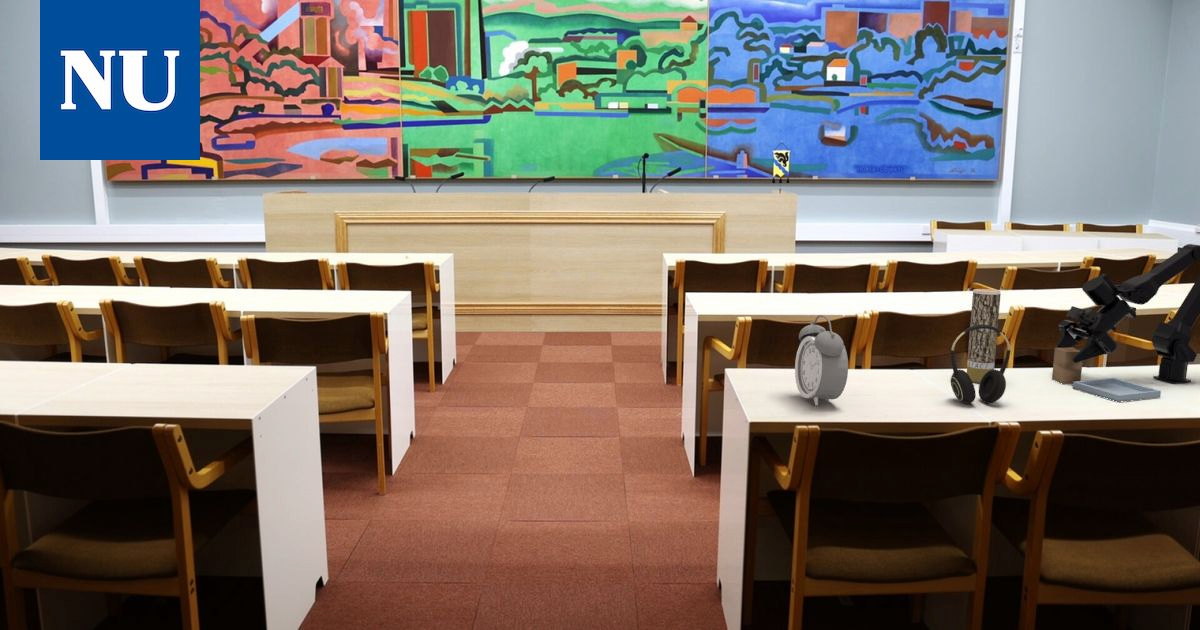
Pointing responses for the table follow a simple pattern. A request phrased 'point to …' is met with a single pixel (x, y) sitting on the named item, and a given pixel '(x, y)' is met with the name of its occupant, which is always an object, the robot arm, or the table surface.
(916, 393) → the table surface
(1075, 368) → the walnut block
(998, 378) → the headphones
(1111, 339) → the robot arm
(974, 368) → the paper tube
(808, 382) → the alarm clock
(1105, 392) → the tray
